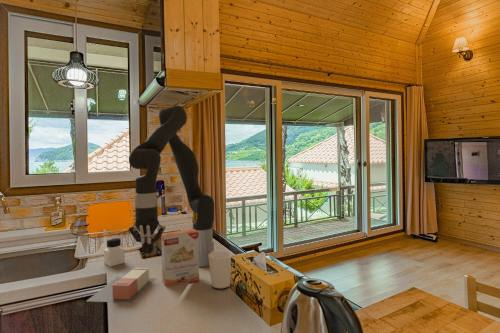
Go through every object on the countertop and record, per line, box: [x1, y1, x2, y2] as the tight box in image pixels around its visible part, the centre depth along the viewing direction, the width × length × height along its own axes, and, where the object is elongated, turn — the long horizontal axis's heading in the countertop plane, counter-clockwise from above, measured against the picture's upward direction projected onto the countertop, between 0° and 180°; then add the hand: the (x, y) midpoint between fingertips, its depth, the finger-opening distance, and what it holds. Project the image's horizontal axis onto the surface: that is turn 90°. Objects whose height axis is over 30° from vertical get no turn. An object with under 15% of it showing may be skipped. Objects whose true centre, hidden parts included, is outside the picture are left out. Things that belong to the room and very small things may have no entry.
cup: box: [208, 250, 234, 291], centre depth 115 cm, size 10×10×13 cm
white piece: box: [86, 267, 157, 304], centre depth 112 cm, size 17×20×6 cm
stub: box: [112, 278, 137, 300], centre depth 106 cm, size 6×6×5 cm
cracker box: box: [160, 228, 200, 287], centre depth 118 cm, size 14×6×21 cm, turn 118°
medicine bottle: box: [103, 237, 126, 268], centre depth 142 cm, size 7×7×12 cm
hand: (147, 253), depth 104 cm, fingers closed
